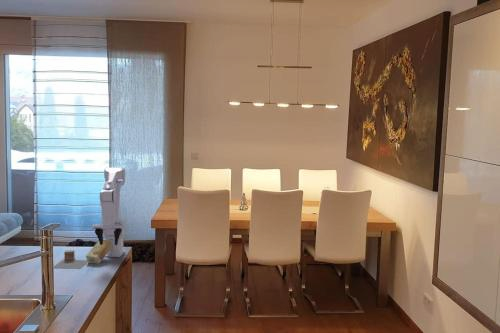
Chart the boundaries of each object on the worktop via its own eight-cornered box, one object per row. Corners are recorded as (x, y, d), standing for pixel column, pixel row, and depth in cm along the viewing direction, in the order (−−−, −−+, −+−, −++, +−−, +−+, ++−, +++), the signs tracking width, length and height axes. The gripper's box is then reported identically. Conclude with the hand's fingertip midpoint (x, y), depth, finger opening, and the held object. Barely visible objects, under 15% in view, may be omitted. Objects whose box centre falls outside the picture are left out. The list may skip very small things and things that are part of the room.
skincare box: (85, 256, 223) (98, 238, 233) (87, 262, 225) (101, 245, 235) (97, 257, 221) (110, 240, 231) (99, 264, 224) (112, 247, 233)
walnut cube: (65, 258, 231) (65, 250, 231) (74, 258, 232) (74, 250, 232) (64, 260, 227) (64, 252, 227) (73, 260, 228) (73, 251, 228)
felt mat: (62, 260, 229) (62, 259, 229) (89, 260, 229) (89, 260, 228) (51, 268, 217) (51, 267, 217) (80, 269, 217) (80, 268, 217)
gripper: (89, 217, 216) (90, 246, 217) (121, 218, 215) (121, 247, 217) (94, 214, 223) (95, 242, 224) (125, 214, 222) (126, 242, 224)
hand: (108, 244), depth 221 cm, fingers open, 6 cm apart
